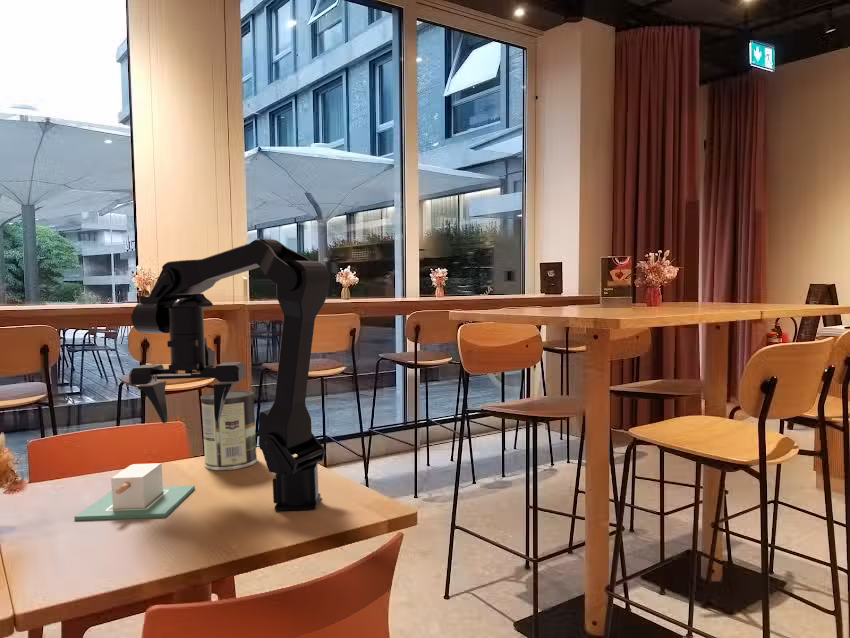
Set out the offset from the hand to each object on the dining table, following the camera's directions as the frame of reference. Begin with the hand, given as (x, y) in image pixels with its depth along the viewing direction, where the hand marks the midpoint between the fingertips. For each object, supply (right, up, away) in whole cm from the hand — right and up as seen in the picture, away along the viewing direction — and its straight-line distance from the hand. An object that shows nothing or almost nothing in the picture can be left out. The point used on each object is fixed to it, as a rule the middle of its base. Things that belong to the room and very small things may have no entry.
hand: (191, 421), depth 115 cm
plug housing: (-6, -12, -8) cm, 16 cm away
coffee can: (+2, -11, +17) cm, 20 cm away
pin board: (-6, -13, -6) cm, 16 cm away
